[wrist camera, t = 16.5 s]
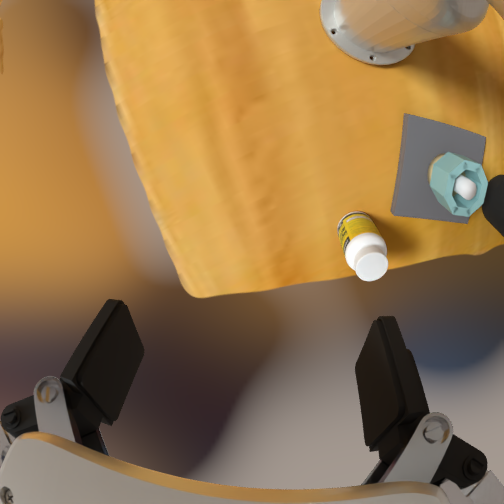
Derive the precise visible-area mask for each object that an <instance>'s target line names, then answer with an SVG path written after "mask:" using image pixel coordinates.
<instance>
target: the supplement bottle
mask: <svg viewBox="0 0 504 504" xmlns="http://www.w3.org/2000/svg"><path fill="white" fill-rule="evenodd" d="M337 231H338V236H339V239H340V243H341V246H342V249H343V252H344V255H345V258H346V261H347V263H348V265H349V266H350V267H351V268H352V269H353V270H355V271H356V274H357V275H358V277H359V278H360V279H362V280H365V281H373V280H377V279H379V278H380V277H382V276H383V275H384V274H385V272H386V271H387V268H388V260H387V258H386V255H387V247H386V244H385V241H384V240H383V238H382V236H381V234H380V233H379V231H378V229H377V228H376V226H375V224H374V222H373V221H372V219H371V218H370V217H369V216H368V215H367V214H365V213H363V212H359V211H354V212H351V213H348V214H346V215H345V216H344V217H343V218H342V219H341V220H340V222H339V224H338V229H337Z"/></svg>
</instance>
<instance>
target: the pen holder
mask: <svg viewBox="0 0 504 504" xmlns="http://www.w3.org/2000/svg"><path fill="white" fill-rule="evenodd" d="M482 210H483V214H484V216H485V218H486V219H487V220H488V221H489V222H490V223H491V224H492V225H493V226H494V227H495V228H496V229H497V230H498V231H499V232H500V233H501V235H502V236H503V237H504V175H498V176H496V177H494V178H493V179H491V180H490V182H489V183H488V186H487V190H486V194H485V198H484V202H483V204H482Z"/></svg>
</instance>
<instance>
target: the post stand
mask: <svg viewBox="0 0 504 504" xmlns="http://www.w3.org/2000/svg"><path fill="white" fill-rule="evenodd" d="M485 141H486V137H484V136H481V135H479V134H476V133H473V132H470V131H467V130H464V129H461V128H458V127H455V126H451V125H448V124H445V123H441V122H438V121H434V120H430V119H426V118H422V117H418V116H414V115H410V114H405V113H404V120H403V131H402V141H401V149H400V157H399V164H398V171H397V178H396V184H395V190H394V195H393V201H392V206H391V212H392V214H393V215H394V216H403V217H413V218H423V219H432V220H441V221H449V222H457V223H465V224H468V220H469V217H470V216H469V217H466V216H459V215H453V214H451V213H450V212H449V211H448V210H447V209H446V208H445V207H444V206H443V205H441V204H440V203H439V202H438V200H437V198H436V196H435V195H434V193H433V191H432V189H431V187H430V181H431V175H432V170H433V164H434V163H435V162H437V161H438V160H439V159H440V158H441V157H442V156H444V155H445V154H446V153H447V152H451V153H455V154H459V155H463V156H465V157H467V158H469V159H471V160H473V161H475V162H477V163H479V164H481V166H482V160H483V154H484V148H485ZM465 176H466V174H465V172H464V171H463V172H462V173H461V174H460V175H459V176H458V177H457V178H455V182H454V187H453V191H452V196H453V197H454V196H455V195H456V194H457V193H458V194H459V195H461V196H462V197H463V198H465V199H466V200H471V199H472V198H473V197H474V196H475V194H476V190H477V189H476V185H475V183H474V182H472V181H471V180H469V179H468V178H466V177H465Z"/></svg>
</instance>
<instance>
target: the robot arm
mask: <svg viewBox="0 0 504 504" xmlns="http://www.w3.org/2000/svg"><path fill="white" fill-rule="evenodd" d="M489 4H490V5H491V6H492V7H493V8H494V9H495V10H496V11H497V12H498V13H499V15H500V16H501V17H502V18H503V19H504V0H322V1H321V5H320V19H321V23H322V26H323V28H324V30H325V32H326V34H327V35H328V37H329V38H330V40H331V41H332V42H333V43H334V44H335V45H336V46H337V47H338V48H339V49H340V50H342V51H343V52H344V53H345V54H347V55H349V56H351V57H352V58H354V59H356V60H359V61H361V62H364V63H368V64H372V65H389V64H393V63H397V62H399V61H401V60H403V59H405V58H406V57H407V56H409V55H410V53H411V52H412V51H413V49H414V47H415V44H418V43H421V42H425V41H429V40H433V39H437V38H441V37H445V36H450V35H455V34H459V33H464V32H467V31H470V30H472V29H474V28H475V27H477V26H478V25H479V24H480V23H481V22H482V21H483V19H484V18H485V16H486V13H487V10H488V7H489ZM331 31H333V32H335V34H332V33H331ZM405 47H406V48H407V49H406V48H405ZM370 57H372V58H373V60H371V59H370ZM143 356H144V347H143V345H142V343H141V340H140V338H139V335H138V332H137V330H136V327H135V325H134V323H133V320H132V317H131V315H130V312H129V310H128V307H127V305H125V304H124V302H123V301H121V300H114V299H109V300H107V301H106V303H105V304H104V306H103V307H102V309H101V310H100V312H99V313H98V315H97V316H96V318H95V319H94V321H93V322H92V324H91V326H90V327H89V329H88V330H87V332H86V334H85V335H84V337H83V338H82V340H81V341H80V343H79V345H78V346H77V348H76V350H75V351H74V353H73V355H72V356H71V358H70V360H69V361H68V363H67V365H66V367H65V368H64V370H63V372H62V374H61V376H60V377H61V378H60V380H59V379H57V378H55V377H45V378H43V379H41V380H40V381H39V382H38V383H37V385H36V386H35V389H34V395H33V396H30V397H27V398H25V399H23V400H20V401H18V402H15V403H13V404H10V405H8V406H7V407H6V408H5V409H4V410H3V412H2V415H1V421H0V504H504V486H503V485H502V484H501V482H500V481H499V480H498V479H497V477H496V476H495V475H494V473H493V472H492V471H491V470H490V471H487V459H486V456H485V455H484V454H483V453H482V452H481V451H479V450H478V449H476V448H475V447H473V446H471V445H470V444H468V443H466V442H465V441H463V440H462V439H460V438H458V437H457V436H455V435H453V426H452V423H451V421H450V420H449V418H448V417H447V416H445V415H444V414H442V413H439V412H433V413H430V412H429V408H428V404H427V401H426V397H425V393H424V390H423V386H422V383H421V380H420V377H419V373H418V370H417V367H416V364H415V361H414V358H413V355H412V353H411V351H410V350H409V349H406V346H405V343H404V340H403V338H402V335H401V332H400V329H399V327H398V324H397V321H396V319H395V317H394V316H380V317H378V319H377V320H374V321H373V323H372V326H371V328H370V331H369V334H368V336H367V338H366V341H365V343H364V346H363V348H362V351H361V353H360V355H359V358H358V360H357V362H356V366H355V373H356V379H357V385H358V392H359V399H360V405H361V414H362V421H363V430H364V439H365V444H366V446H369V448H370V452H371V451H379V459H380V460H379V462H378V463H377V464H376V466H375V467H374V469H373V470H372V471H371V473H370V474H369V475H368V477H367V478H366V479H365V481H364V482H363V483H362V484H361V485H360V486H352V487H341V488H326V489H304V490H281V489H257V488H246V487H236V486H227V485H220V484H212V483H207V482H201V481H196V480H191V479H186V478H180V477H176V476H172V475H168V474H164V473H160V472H157V471H153V470H149V469H146V468H143V467H139V466H136V465H133V464H130V463H127V462H124V461H121V460H118V459H116V458H113V457H110V456H109V454H108V451H107V448H106V446H105V443H104V440H103V438H102V435H101V432H100V430H99V426H100V423H101V422H102V423H105V424H108V425H111V426H112V424H113V421H116V420H117V419H118V416H119V414H120V411H121V409H122V406H123V404H124V401H125V399H126V396H127V394H128V391H129V389H130V387H131V384H132V382H133V379H134V377H135V374H136V372H137V370H138V367H139V365H140V363H141V361H142V358H143Z"/></svg>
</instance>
